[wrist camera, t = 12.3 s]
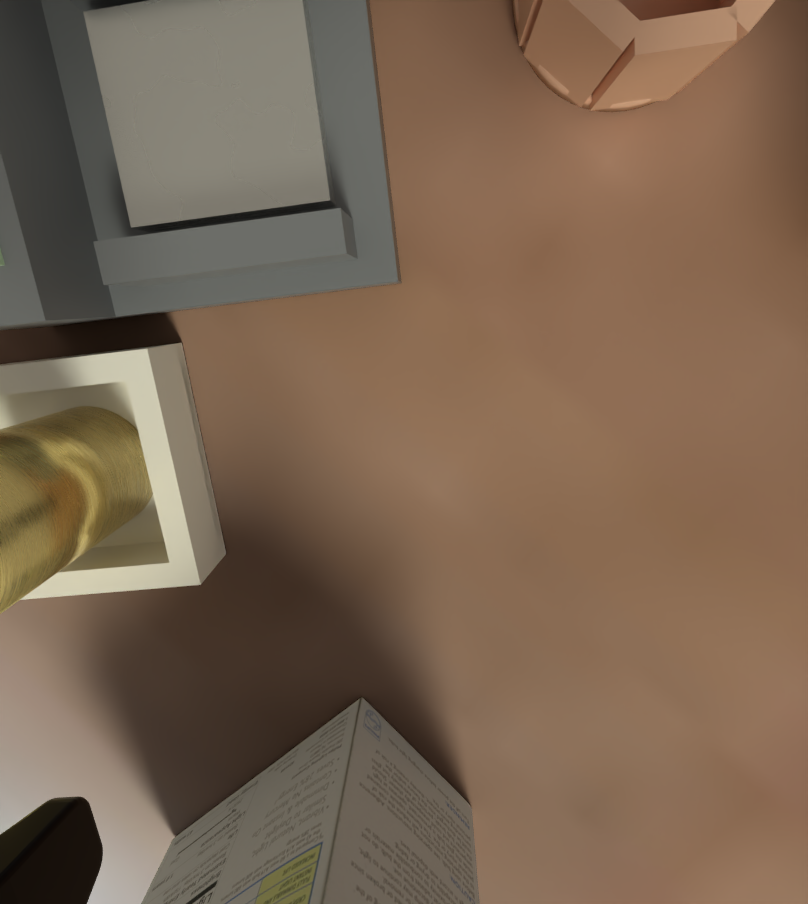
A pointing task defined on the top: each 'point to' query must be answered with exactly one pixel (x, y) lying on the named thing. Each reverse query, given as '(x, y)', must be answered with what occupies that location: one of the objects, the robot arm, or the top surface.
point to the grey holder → (186, 247)
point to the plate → (212, 108)
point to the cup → (628, 45)
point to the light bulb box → (330, 829)
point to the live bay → (166, 455)
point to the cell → (64, 492)
